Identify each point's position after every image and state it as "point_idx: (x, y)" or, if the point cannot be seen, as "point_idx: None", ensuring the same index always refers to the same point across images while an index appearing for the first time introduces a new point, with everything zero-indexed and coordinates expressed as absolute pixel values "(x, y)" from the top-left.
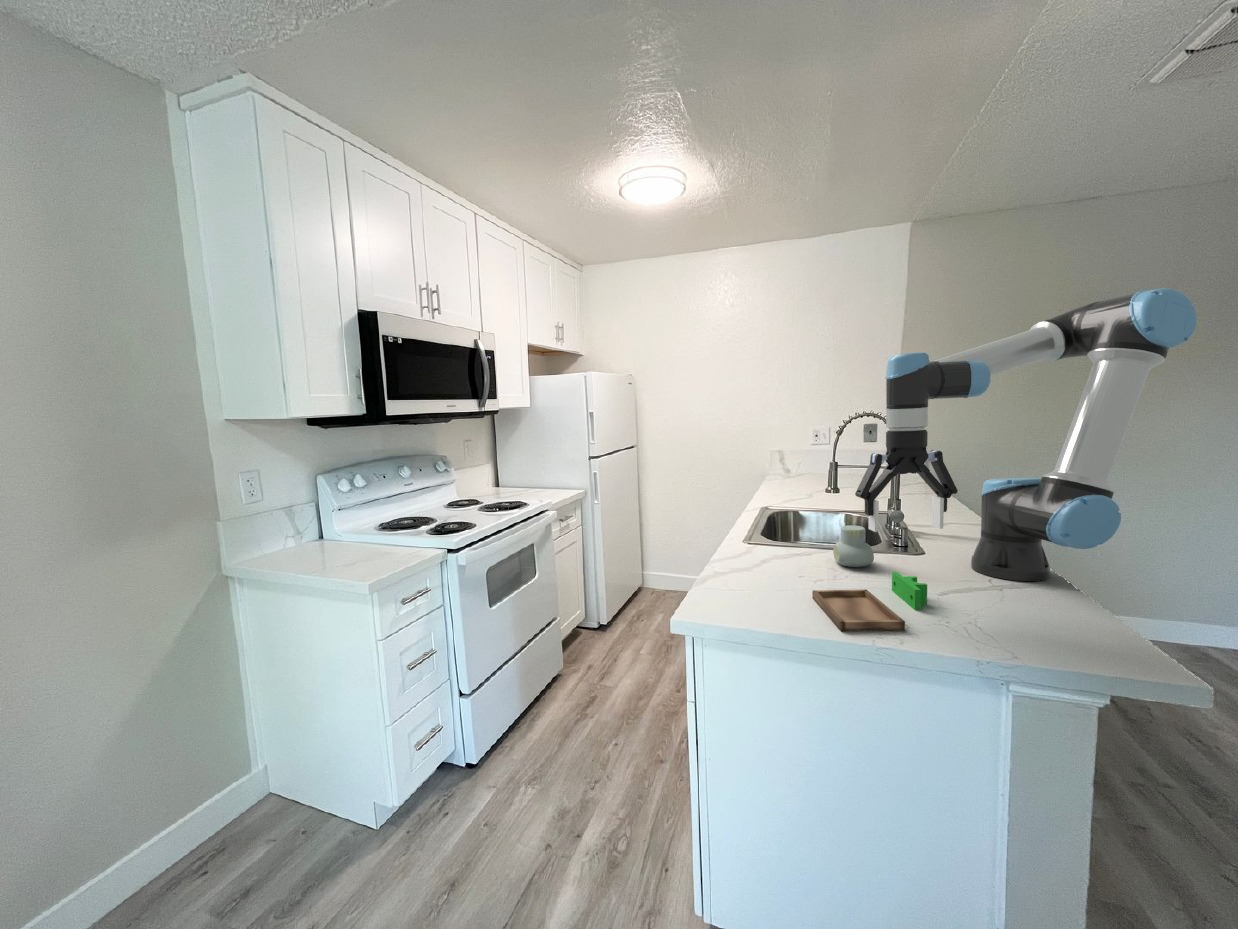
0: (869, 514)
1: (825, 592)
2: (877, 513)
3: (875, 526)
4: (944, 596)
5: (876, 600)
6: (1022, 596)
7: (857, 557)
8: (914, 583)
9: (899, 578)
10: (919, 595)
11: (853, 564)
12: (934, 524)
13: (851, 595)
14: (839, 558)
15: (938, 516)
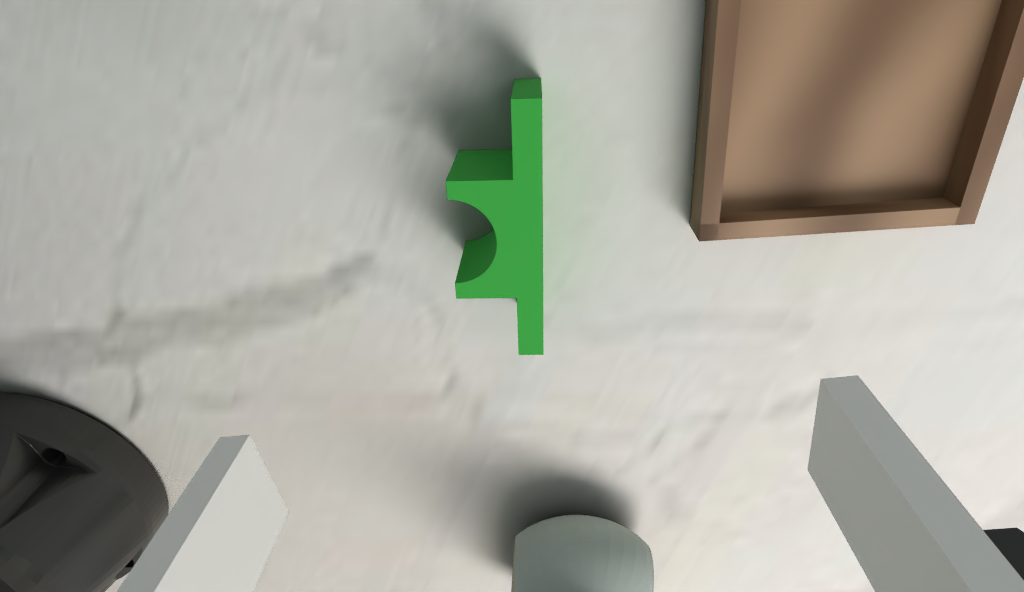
0: (1022, 543)
1: (913, 209)
2: (953, 537)
3: (883, 412)
4: (351, 247)
5: (728, 92)
6: (50, 254)
7: (591, 540)
8: (503, 199)
9: (542, 277)
10: (519, 92)
11: (600, 518)
12: (267, 504)
13: (774, 211)
14: (650, 551)
15: (204, 542)
